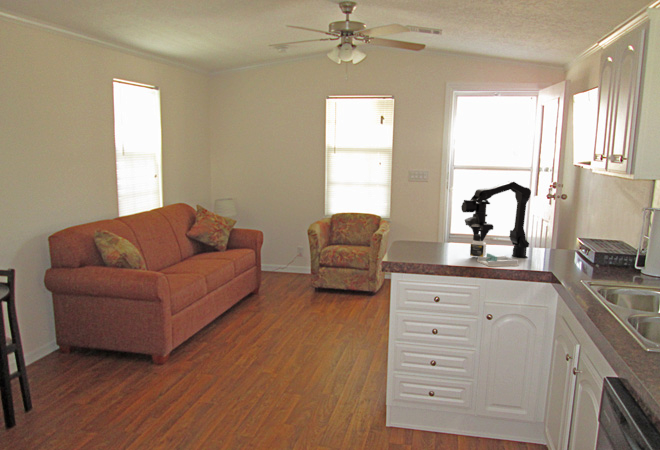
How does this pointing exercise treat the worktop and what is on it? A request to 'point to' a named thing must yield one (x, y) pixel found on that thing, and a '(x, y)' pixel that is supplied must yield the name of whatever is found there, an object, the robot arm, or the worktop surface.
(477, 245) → the medicine bottle
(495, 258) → the pusher
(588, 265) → the worktop surface
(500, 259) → the lane
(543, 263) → the worktop surface
